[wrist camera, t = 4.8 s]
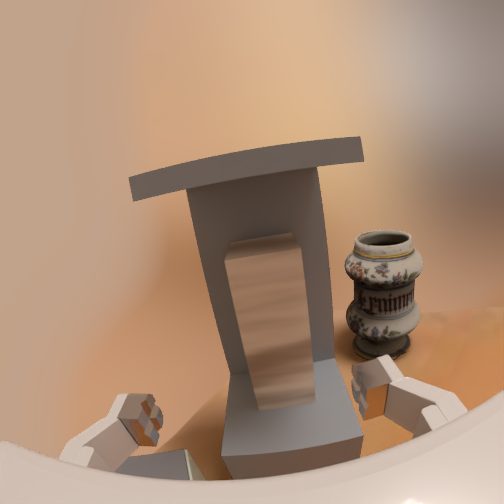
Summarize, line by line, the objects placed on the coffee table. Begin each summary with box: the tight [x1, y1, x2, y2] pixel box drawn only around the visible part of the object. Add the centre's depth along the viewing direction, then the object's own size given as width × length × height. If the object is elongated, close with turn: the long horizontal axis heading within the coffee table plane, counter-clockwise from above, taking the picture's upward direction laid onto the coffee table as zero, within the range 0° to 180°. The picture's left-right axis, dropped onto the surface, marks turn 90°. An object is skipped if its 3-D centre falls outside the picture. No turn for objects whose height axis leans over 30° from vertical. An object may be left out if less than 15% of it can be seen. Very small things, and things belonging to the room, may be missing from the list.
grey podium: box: [129, 136, 364, 480], centre depth 22 cm, size 12×11×30 cm
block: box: [224, 233, 316, 411], centre depth 23 cm, size 5×5×14 cm
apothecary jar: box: [345, 230, 423, 360], centre depth 39 cm, size 12×12×18 cm
